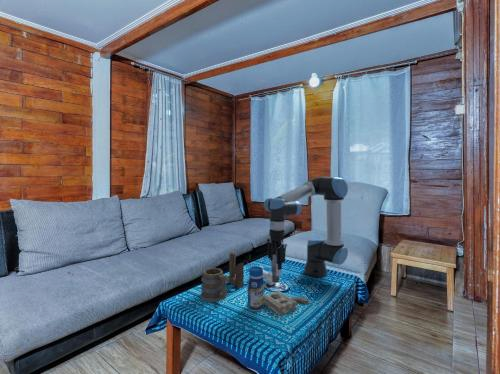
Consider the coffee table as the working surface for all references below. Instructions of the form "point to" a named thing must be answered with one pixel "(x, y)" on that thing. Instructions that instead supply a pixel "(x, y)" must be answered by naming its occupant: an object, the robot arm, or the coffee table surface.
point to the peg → (274, 269)
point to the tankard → (213, 285)
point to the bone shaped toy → (267, 276)
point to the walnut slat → (300, 300)
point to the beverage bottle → (255, 289)
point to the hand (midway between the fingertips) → (275, 273)
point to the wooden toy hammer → (235, 272)
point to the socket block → (279, 302)
